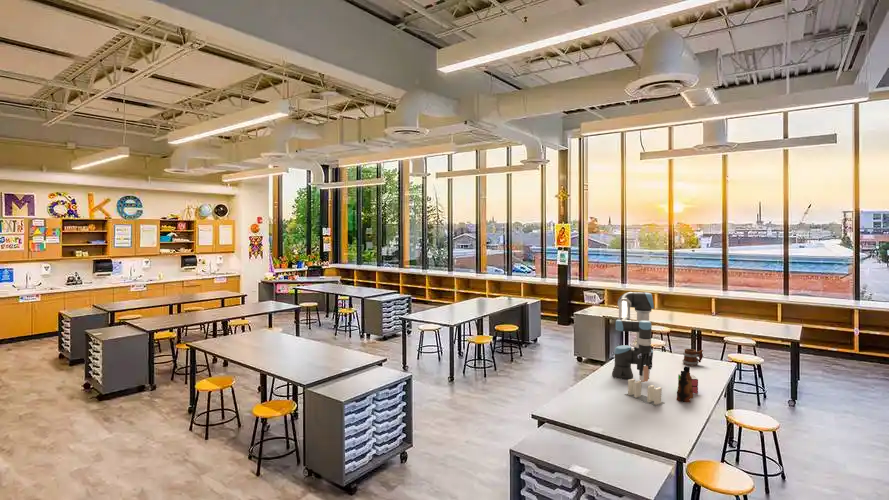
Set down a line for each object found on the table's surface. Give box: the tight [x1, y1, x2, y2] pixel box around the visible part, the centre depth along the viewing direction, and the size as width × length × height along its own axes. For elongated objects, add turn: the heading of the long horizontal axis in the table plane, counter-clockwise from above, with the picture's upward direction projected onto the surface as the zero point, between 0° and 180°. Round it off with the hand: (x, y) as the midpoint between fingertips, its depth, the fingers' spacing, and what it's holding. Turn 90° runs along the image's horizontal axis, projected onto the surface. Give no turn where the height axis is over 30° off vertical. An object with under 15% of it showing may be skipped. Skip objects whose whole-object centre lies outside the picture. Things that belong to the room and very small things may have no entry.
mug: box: [682, 348, 704, 367], centre depth 389 cm, size 12×14×15 cm
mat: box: [624, 393, 665, 407], centre depth 311 cm, size 24×10×1 cm, turn 30°
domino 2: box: [634, 380, 642, 397], centre depth 315 cm, size 2×5×10 cm, turn 121°
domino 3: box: [646, 384, 656, 402], centre depth 306 cm, size 2×5×10 cm, turn 121°
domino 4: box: [654, 387, 663, 405], centre depth 302 cm, size 2×5×10 cm, turn 121°
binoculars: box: [675, 365, 694, 404], centre depth 311 cm, size 18×8×20 cm, turn 143°
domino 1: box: [627, 378, 636, 395], centre depth 319 cm, size 2×5×10 cm, turn 120°
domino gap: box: [640, 365, 649, 383], centre depth 310 cm, size 2×5×10 cm, turn 120°
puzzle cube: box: [677, 373, 699, 394], centre depth 326 cm, size 10×10×10 cm
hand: (644, 379), depth 310 cm, fingers closed on domino gap, 5 cm apart
